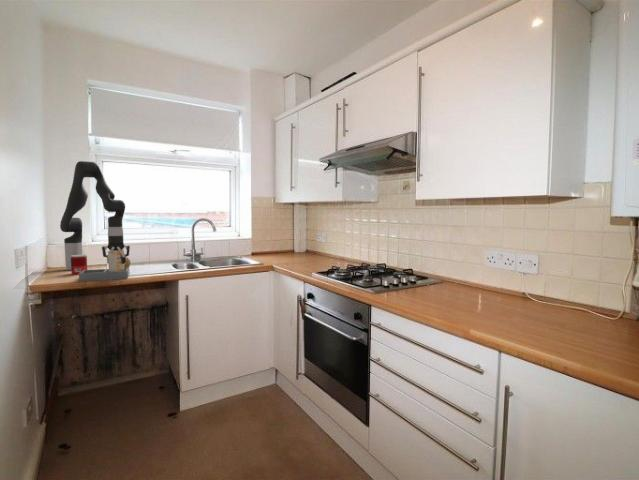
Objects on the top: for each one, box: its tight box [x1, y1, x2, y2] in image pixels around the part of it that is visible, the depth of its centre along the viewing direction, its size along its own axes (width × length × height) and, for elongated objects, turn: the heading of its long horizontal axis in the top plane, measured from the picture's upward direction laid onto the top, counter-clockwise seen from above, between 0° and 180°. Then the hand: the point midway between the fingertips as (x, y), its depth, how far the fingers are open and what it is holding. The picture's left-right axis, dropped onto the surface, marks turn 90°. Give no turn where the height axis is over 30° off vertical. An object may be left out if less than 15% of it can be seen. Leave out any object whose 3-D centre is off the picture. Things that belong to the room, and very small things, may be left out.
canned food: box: [70, 254, 88, 276], centre depth 212 cm, size 8×8×11 cm
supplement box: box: [107, 249, 125, 272], centre depth 201 cm, size 8×5×13 cm, turn 179°
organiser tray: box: [78, 267, 130, 282], centre depth 199 cm, size 13×23×4 cm, turn 115°
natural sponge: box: [124, 256, 131, 269], centre depth 217 cm, size 9×9×10 cm
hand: (116, 263), depth 201 cm, fingers closed on supplement box, 6 cm apart
